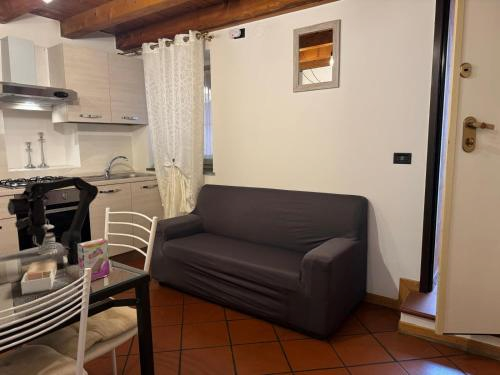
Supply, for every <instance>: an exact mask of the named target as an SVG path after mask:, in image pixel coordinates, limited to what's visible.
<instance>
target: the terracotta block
mask: <svg viewBox="0 0 500 375" xmlns="http://www.w3.org/2000/svg"><path fill="white" fill-rule="evenodd" d="M27 276H28V281H30V280H36V279H42V278H43V270H42V271H35V272H29V273H28V274H27Z"/></svg>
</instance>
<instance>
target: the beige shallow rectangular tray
mask: <svg viewBox="0 0 500 375" xmlns="http://www.w3.org/2000/svg"><path fill="white" fill-rule="evenodd" d="M52 269H53V273H54V280H55V278H56V273H57V270H58V261H57V259H56V258H55V259H47V260H41V261H40V260H39V261H33V262H31V263H30V264H29V267H28V269H27V271H26V273H27V274H28V273H29V272H35V271H42V270H43V278H49V277H50V273H51V270H52ZM27 278H28V276H27Z"/></svg>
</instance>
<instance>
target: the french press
mask: <svg viewBox="0 0 500 375" xmlns="http://www.w3.org/2000/svg"><path fill="white" fill-rule="evenodd" d="M45 209H46V206H45ZM44 226H45V227H48V229H47V230H51V229H54V228H55V226H54V225H52V224H50V223H49V225H47V224H46V225H44ZM32 241H33V242H32V243H33V244H34V245H36V246H38V252H37V253H38V254H41V255H40V256H48V255H47V254H50V255H53V254H52V253H54V254H56V253H58V252H57V250H58V249H57V248H56V237H55V234H54V233H53V232H46V235H45V238H44V241H43V244H42V245H39V243H38V242H37V238H36V236H35V235H33V236H32ZM55 252H56V253H55ZM38 254H37V255H38Z"/></svg>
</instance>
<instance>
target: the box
mask: <svg viewBox="0 0 500 375" xmlns="http://www.w3.org/2000/svg"><path fill="white" fill-rule="evenodd" d="M54 282H55V279H54V273H53V269H52V270H51V273H50V277H49V278H42V279H36V280H30V281H28V278H27V272H25V273H24V275H23V277H22V279H21V281H20V288H21V293H22V295H27V294H33V293H39V292H45V291H51V290H53V286H54Z"/></svg>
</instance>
